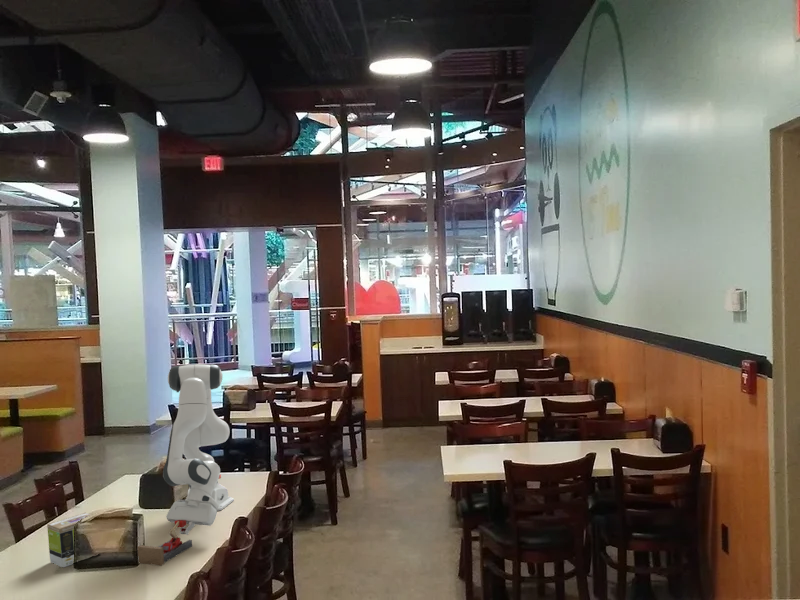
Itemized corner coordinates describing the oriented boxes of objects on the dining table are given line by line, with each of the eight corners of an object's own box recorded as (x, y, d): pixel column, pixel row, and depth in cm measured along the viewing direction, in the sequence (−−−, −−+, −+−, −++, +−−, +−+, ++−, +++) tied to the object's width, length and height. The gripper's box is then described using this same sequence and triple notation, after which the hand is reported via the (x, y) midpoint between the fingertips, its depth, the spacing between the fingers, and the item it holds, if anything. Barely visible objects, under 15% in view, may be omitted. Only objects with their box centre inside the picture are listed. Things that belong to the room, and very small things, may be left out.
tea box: (88, 549, 276) (86, 511, 275) (102, 555, 269) (99, 516, 269) (49, 562, 264) (46, 523, 264) (62, 568, 258) (59, 527, 257)
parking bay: (172, 544, 277) (171, 529, 277) (193, 546, 273) (193, 531, 273) (138, 563, 259) (137, 546, 259) (161, 565, 256) (160, 549, 256)
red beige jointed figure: (161, 557, 264) (160, 531, 264) (179, 543, 278) (178, 518, 277) (170, 557, 264) (168, 531, 263) (187, 543, 277) (186, 518, 277)
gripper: (171, 495, 286) (157, 528, 277) (215, 498, 279) (201, 531, 270) (179, 502, 290) (165, 535, 281) (222, 506, 283) (209, 539, 274)
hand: (183, 533), depth 275 cm, fingers closed
